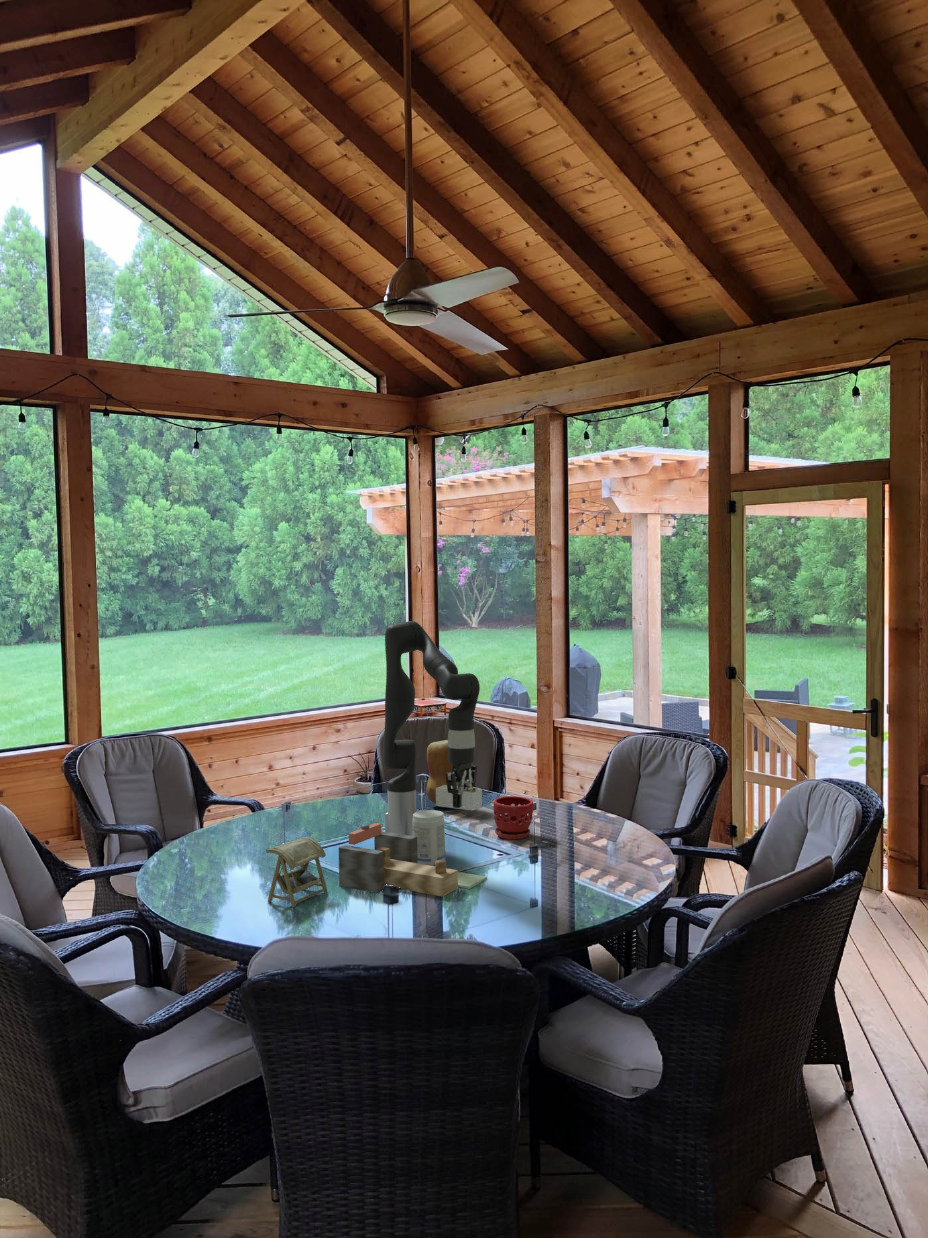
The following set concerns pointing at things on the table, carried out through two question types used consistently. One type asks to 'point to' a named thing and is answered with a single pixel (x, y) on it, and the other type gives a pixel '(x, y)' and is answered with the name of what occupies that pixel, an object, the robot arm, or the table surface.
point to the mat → (469, 880)
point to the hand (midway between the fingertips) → (461, 805)
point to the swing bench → (301, 878)
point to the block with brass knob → (469, 798)
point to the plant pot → (513, 816)
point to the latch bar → (364, 833)
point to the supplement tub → (429, 836)
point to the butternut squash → (437, 767)
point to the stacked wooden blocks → (393, 867)
